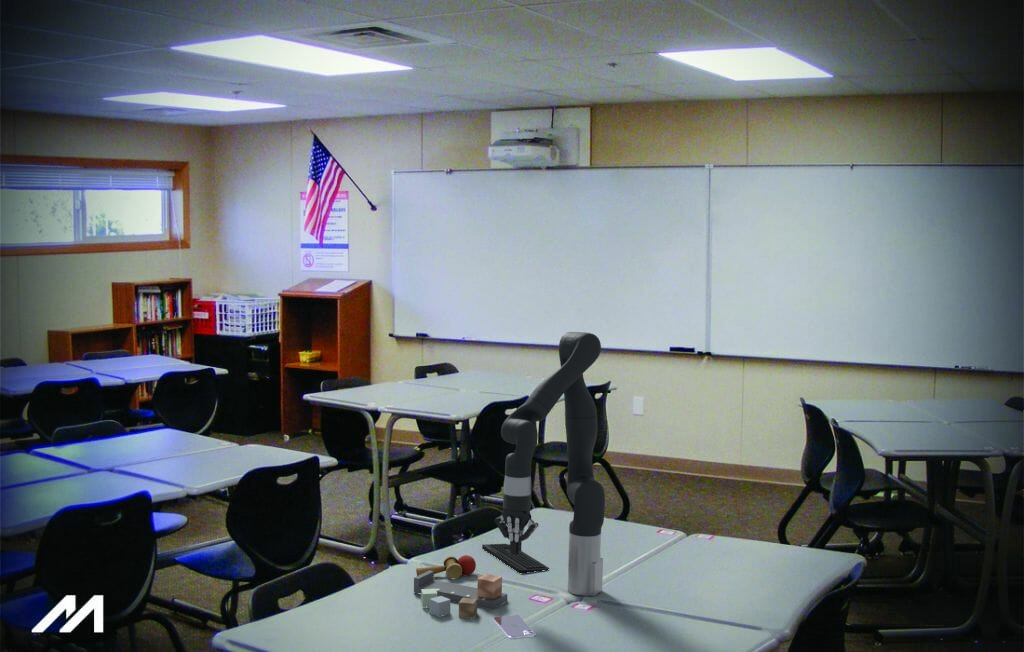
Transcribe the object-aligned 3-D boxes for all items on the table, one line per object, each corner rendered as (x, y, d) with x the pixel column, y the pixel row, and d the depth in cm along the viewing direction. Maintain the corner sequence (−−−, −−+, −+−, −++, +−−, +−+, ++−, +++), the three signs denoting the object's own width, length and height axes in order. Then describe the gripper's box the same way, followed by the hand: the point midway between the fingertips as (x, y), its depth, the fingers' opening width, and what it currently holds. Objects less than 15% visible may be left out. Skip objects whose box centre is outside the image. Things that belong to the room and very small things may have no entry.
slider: (501, 594, 277) (502, 576, 276) (493, 599, 272) (493, 581, 272) (486, 591, 279) (486, 573, 279) (477, 596, 275) (477, 578, 274)
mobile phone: (518, 613, 266) (537, 633, 252) (518, 617, 266) (537, 637, 252) (491, 616, 264) (509, 636, 249) (491, 620, 264) (508, 640, 249)
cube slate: (450, 614, 267) (450, 599, 266) (438, 617, 264) (438, 602, 264) (441, 610, 270) (441, 595, 269) (429, 613, 267) (429, 598, 267)
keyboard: (551, 571, 307) (552, 565, 307) (520, 575, 302) (520, 569, 302) (510, 546, 333) (511, 540, 333) (481, 549, 329) (481, 544, 329)
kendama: (420, 587, 292) (479, 575, 297) (417, 565, 293) (476, 553, 298) (417, 583, 300) (474, 571, 304) (413, 562, 300) (471, 551, 305)
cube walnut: (477, 613, 268) (477, 598, 267) (473, 618, 264) (473, 603, 264) (462, 611, 269) (462, 597, 268) (458, 616, 265) (458, 602, 264)
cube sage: (435, 602, 276) (435, 588, 275) (437, 607, 272) (437, 593, 271) (421, 603, 275) (421, 589, 274) (422, 608, 271) (422, 594, 271)
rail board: (507, 601, 278) (507, 585, 277) (493, 609, 271) (493, 593, 270) (428, 585, 290) (429, 570, 289) (413, 593, 283) (414, 577, 282)
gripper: (545, 492, 270) (543, 554, 271) (502, 486, 277) (500, 547, 278) (532, 497, 264) (530, 561, 265) (489, 491, 270) (487, 553, 271)
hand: (515, 554), depth 271 cm, fingers closed
